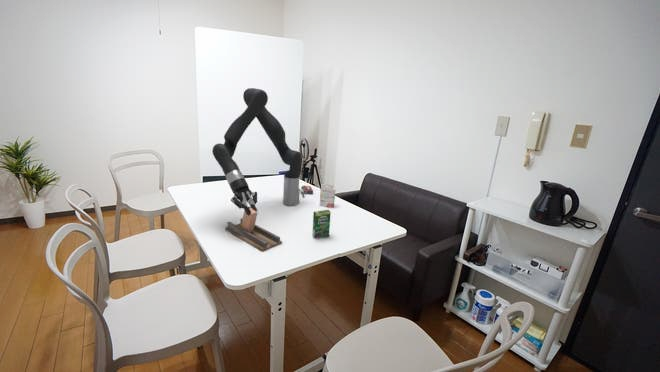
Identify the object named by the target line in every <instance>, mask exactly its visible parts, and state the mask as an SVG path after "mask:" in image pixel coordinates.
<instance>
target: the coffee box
mask: <svg viewBox="0 0 660 372" xmlns="http://www.w3.org/2000/svg"><path fill="white" fill-rule="evenodd" d="M312 217H313V218H312V237H313V238H314V239H319V238H323V237H324V238H325V237H329V236H330V228H331V227H330V225H331V210H329V209H324V210H315V211H313V215H312Z"/></svg>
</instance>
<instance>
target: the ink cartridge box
mask: <svg viewBox="0 0 660 372" xmlns="http://www.w3.org/2000/svg"><path fill="white" fill-rule="evenodd" d="M335 199H336V187H335V185H334V184H328V183H321V185H320V194H319V207H325V208H328V209H329V208H330V209H332V208H334V206H335V201H336V200H335Z"/></svg>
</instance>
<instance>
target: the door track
mask: <svg viewBox="0 0 660 372" xmlns="http://www.w3.org/2000/svg"><path fill="white" fill-rule="evenodd" d="M242 220H243V217H241V218H240V219H239V221H240V223H237V224H235V223H233V222H231V221H228V222H227V223H226V224H227V225H226V226H227V227H225V228H224V230H225V231H226V232H228V233H229V234H230V235H231V234H232V235H233V236H235V237H236V238H238V239H240V240H242V241H244V243H247V244H248V245H251V246H252V247H254V248H255V249H256V250H258V251H260V252H265V251H267V250H269V249H272V248H275V247H277V246H279V245H281V244H283V241H282V240H281V237H280V236H279V235H276V234H275V233H272V232H271V231H269V230H267V229H265V228H263V227H261V226H259V225H257V224H255V227H254V231H252V232H250V233H249V232H247V231H246V230H244V229H242V228H241V225H242Z"/></svg>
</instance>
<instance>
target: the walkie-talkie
mask: <svg viewBox="0 0 660 372" xmlns="http://www.w3.org/2000/svg"><path fill="white" fill-rule="evenodd" d="M313 194H314V190H313V188H312V186H310V185H302V186H301V189H300V195H302V197H304V198H305V195H313Z"/></svg>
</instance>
